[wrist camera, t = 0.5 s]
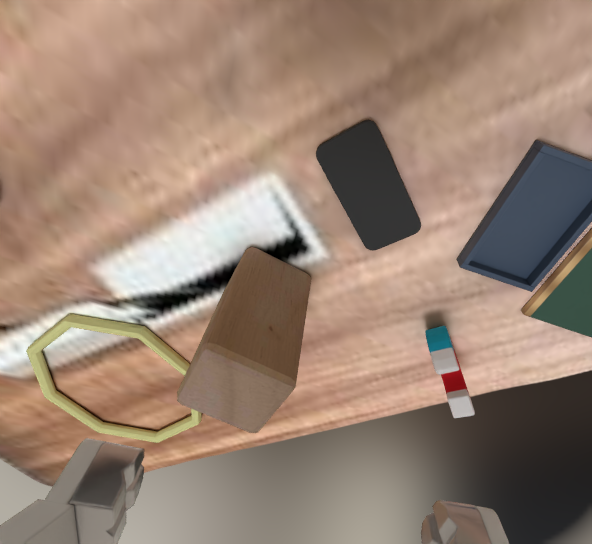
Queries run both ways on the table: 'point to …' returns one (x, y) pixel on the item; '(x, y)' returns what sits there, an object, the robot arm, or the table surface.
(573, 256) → the chalkboard
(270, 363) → the wooden block
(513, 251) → the eraser tray
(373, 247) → the phone
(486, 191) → the table surface
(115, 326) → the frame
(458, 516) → the robot arm
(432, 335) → the magnet
